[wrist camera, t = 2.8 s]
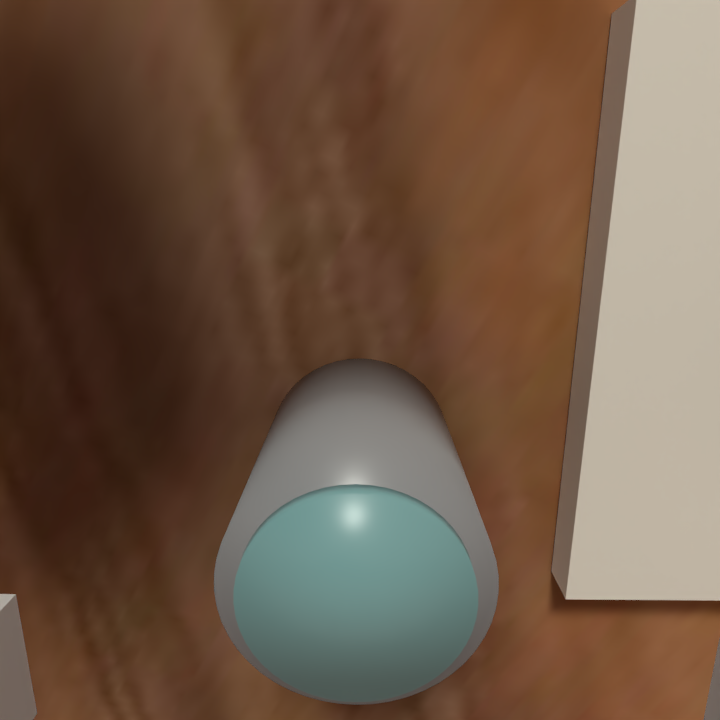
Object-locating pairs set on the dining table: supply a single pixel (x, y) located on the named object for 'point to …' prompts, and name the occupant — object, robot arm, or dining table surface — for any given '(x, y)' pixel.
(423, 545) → the teal capped cylinder
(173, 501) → the dining table surface
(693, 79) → the barrel board
